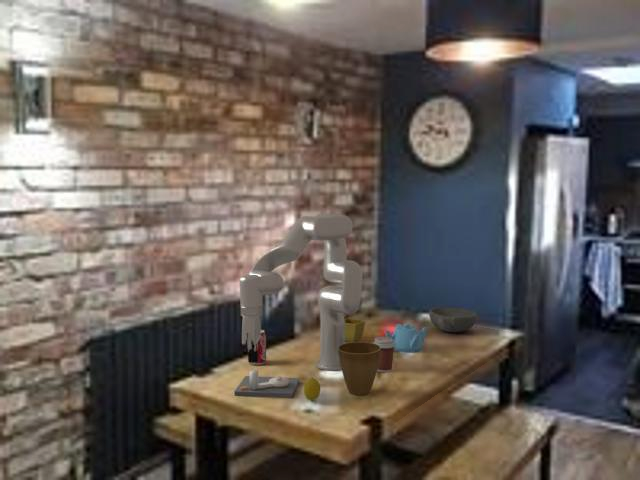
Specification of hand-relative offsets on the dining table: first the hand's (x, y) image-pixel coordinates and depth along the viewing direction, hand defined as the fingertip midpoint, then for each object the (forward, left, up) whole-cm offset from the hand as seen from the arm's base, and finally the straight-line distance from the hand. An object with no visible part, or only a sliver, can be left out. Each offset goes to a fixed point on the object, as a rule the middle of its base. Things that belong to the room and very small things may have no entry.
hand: (253, 361), depth 240 cm
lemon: (-22, +9, -10) cm, 26 cm away
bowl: (-76, -93, -10) cm, 120 cm away
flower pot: (-30, -70, -10) cm, 77 cm away
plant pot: (-37, -2, -10) cm, 38 cm away
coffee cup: (-45, -29, -10) cm, 54 cm away
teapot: (-54, -60, -10) cm, 81 cm away
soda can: (+5, -31, -10) cm, 33 cm away
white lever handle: (-6, +1, -8) cm, 10 cm away
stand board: (-5, -2, -10) cm, 11 cm away
